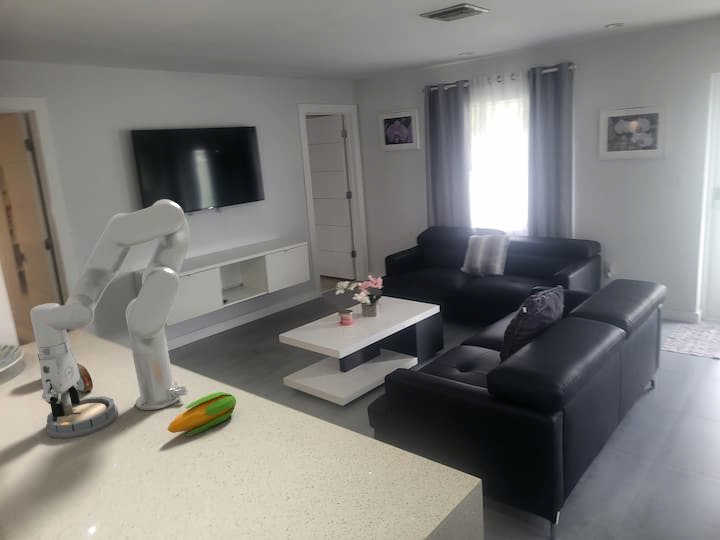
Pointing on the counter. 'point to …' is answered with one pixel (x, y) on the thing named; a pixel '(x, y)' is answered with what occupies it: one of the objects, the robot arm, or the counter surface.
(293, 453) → the counter surface
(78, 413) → the dial
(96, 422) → the dial housing
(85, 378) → the tin
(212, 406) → the corn
